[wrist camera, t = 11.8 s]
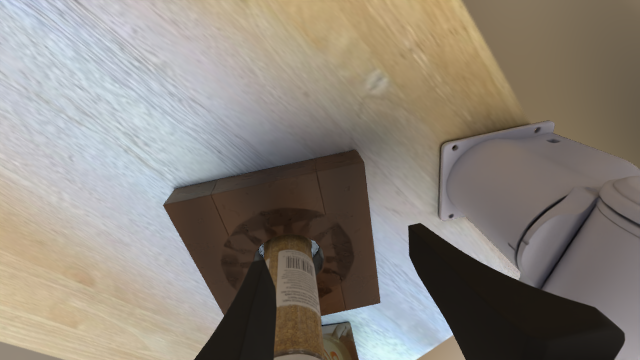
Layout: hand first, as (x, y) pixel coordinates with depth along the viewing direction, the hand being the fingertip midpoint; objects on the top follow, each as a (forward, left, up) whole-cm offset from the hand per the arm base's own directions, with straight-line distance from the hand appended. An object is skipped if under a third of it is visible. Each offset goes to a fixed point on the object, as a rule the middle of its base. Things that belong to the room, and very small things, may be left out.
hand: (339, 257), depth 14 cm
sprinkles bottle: (+4, +7, -11) cm, 13 cm away
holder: (+4, +7, -10) cm, 13 cm away
